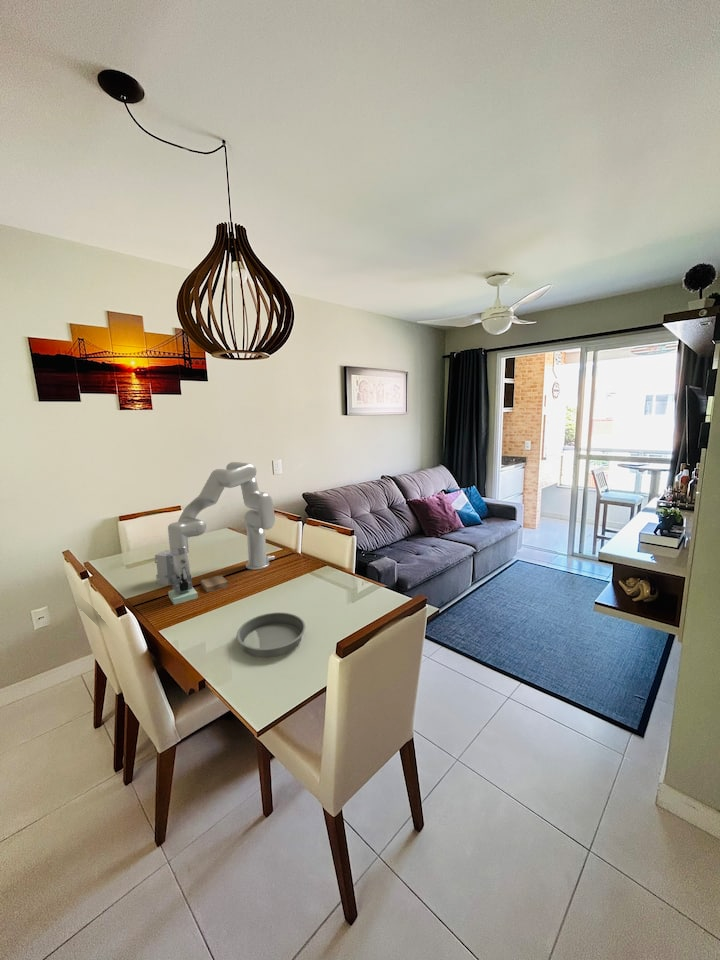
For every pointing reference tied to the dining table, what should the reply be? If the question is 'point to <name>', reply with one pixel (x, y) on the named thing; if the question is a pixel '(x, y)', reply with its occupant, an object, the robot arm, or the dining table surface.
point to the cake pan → (273, 634)
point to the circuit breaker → (164, 568)
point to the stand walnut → (214, 583)
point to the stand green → (182, 596)
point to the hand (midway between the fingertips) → (182, 587)
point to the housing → (177, 582)
